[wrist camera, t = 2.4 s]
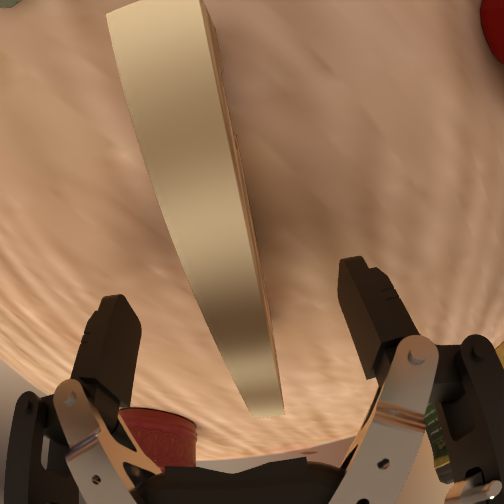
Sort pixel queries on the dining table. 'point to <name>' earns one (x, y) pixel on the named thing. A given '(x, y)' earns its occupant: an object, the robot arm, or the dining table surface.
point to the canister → (162, 437)
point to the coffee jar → (438, 445)
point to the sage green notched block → (7, 3)
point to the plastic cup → (494, 26)
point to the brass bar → (199, 180)
